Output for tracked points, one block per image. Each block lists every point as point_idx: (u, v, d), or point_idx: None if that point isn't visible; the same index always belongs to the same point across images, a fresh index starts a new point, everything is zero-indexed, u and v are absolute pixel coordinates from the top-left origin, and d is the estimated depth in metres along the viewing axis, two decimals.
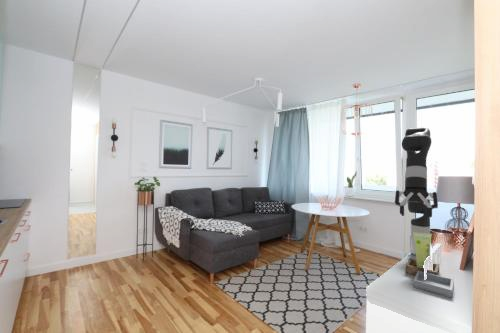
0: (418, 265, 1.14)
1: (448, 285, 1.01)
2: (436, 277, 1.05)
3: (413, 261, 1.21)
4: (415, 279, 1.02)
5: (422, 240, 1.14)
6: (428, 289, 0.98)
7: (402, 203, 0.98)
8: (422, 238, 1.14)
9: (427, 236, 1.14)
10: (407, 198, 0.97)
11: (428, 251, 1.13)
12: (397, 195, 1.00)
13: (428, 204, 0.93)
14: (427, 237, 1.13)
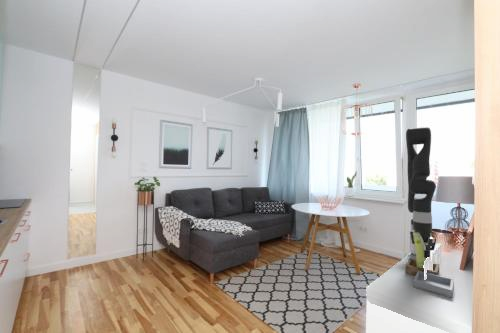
0: (418, 265, 1.14)
1: (448, 285, 1.01)
2: (436, 277, 1.05)
3: (413, 261, 1.21)
4: (415, 279, 1.02)
5: None
6: (428, 289, 0.98)
7: None
8: None
9: None
10: None
11: None
12: (411, 236, 1.20)
13: (424, 247, 1.12)
14: None
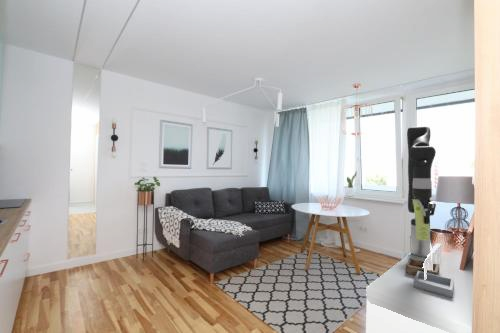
0: (418, 231, 1.15)
1: (448, 285, 1.01)
2: (436, 277, 1.05)
3: (413, 261, 1.21)
4: (415, 279, 1.02)
5: None
6: (428, 289, 0.98)
7: None
8: None
9: None
10: None
11: None
12: (411, 204, 1.21)
13: (423, 212, 1.12)
14: None
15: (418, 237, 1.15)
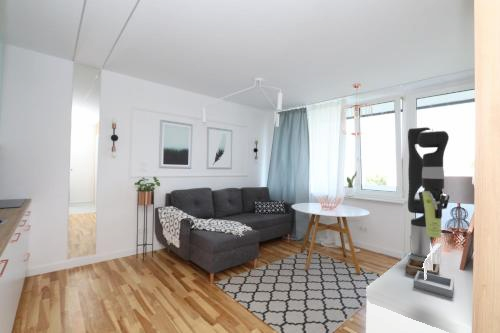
0: (428, 227, 1.01)
1: (448, 285, 1.01)
2: (436, 277, 1.05)
3: (413, 261, 1.21)
4: (415, 279, 1.02)
5: None
6: (428, 289, 0.98)
7: None
8: None
9: None
10: None
11: None
12: (420, 196, 1.07)
13: (435, 206, 0.99)
14: None
15: (428, 233, 1.01)
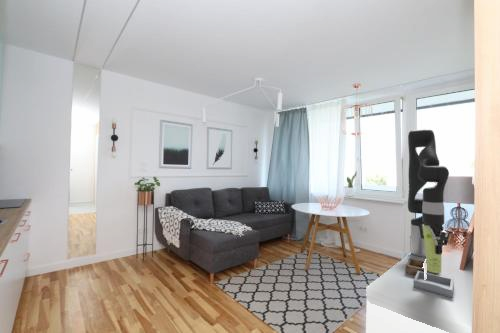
0: (428, 262, 1.01)
1: (448, 285, 1.01)
2: (436, 277, 1.05)
3: (413, 261, 1.21)
4: (415, 279, 1.02)
5: None
6: (428, 289, 0.98)
7: None
8: None
9: None
10: None
11: None
12: (420, 229, 1.07)
13: (435, 241, 0.99)
14: None
15: (429, 268, 1.01)
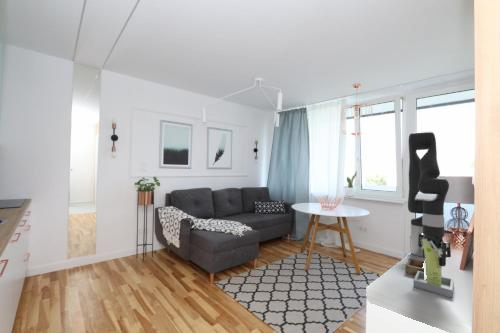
0: (428, 276, 1.01)
1: (448, 285, 1.01)
2: None
3: (413, 261, 1.21)
4: (415, 279, 1.02)
5: None
6: (428, 289, 0.98)
7: (422, 247, 1.06)
8: None
9: None
10: None
11: None
12: (419, 238, 1.08)
13: (439, 253, 0.97)
14: None
15: (429, 282, 1.01)
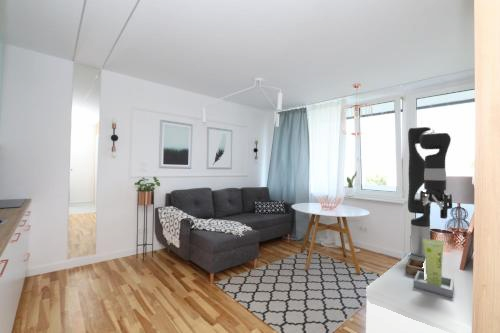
0: (428, 276, 1.01)
1: (448, 285, 1.01)
2: None
3: (413, 261, 1.21)
4: (415, 279, 1.02)
5: (433, 248, 1.01)
6: (428, 289, 0.98)
7: (424, 203, 1.07)
8: (433, 246, 1.01)
9: (439, 243, 1.01)
10: (426, 199, 1.05)
11: (440, 260, 1.00)
12: (421, 195, 1.09)
13: (440, 206, 0.98)
14: (438, 245, 1.00)
15: (429, 282, 1.01)
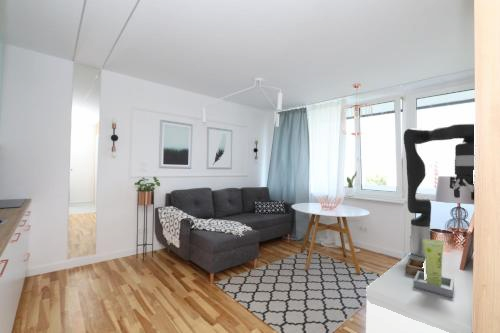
0: (428, 276, 1.01)
1: (448, 285, 1.01)
2: None
3: (413, 261, 1.21)
4: (415, 279, 1.02)
5: (433, 248, 1.01)
6: (428, 289, 0.98)
7: (454, 188, 1.18)
8: (433, 246, 1.01)
9: (439, 243, 1.01)
10: (456, 184, 1.17)
11: (440, 260, 1.00)
12: (451, 181, 1.20)
13: (471, 188, 1.10)
14: (438, 245, 1.00)
15: (429, 282, 1.01)
